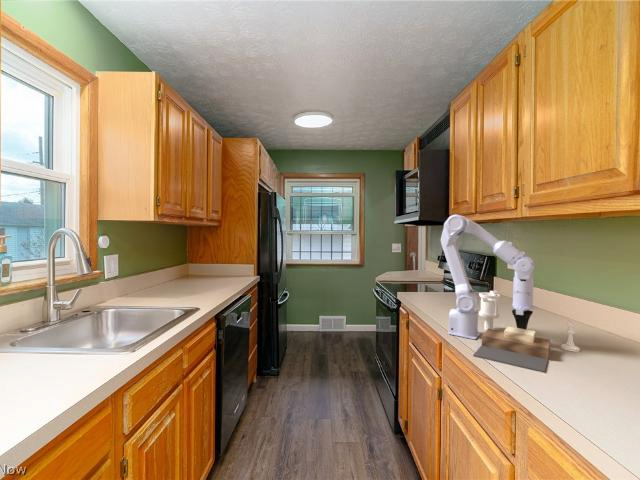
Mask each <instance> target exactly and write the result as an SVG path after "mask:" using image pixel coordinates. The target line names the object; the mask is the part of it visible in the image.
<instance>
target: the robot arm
mask: <svg viewBox="0 0 640 480" xmlns="http://www.w3.org/2000/svg"><path fill="white" fill-rule="evenodd" d="M463 233H466V234H472V235H474V236H476V237H477V238H478V239H480V240H481V241H483V242H484V243H486V244H487V245H488V246H490V247H491V248H492V251H493V254H494V255H495V256H497V257H498V258H499V259H501V260H502V261H503V262H505V263H506V264H507V265H509V266H512V268H513V270H514V277H513V278H512V279H513V286H512V303H511V307H513V308H514V309H512V310H511V313H512V316H513V317H514V319H515V324H516V328H520V329H526V330H528V329H527V328H528V324H529V320H530V318H531V316H532V315H533V313H534V311H532V310H537V309H538V306H537V305H534V303H533V301H534V272H533V271H535V268H536V267H535V263H534V261H533V259H532V258H531V257H530V256H529V255H526V252H525V251H521V250H520V249H518V248H516V247H515V246H514V245H513V244H514V243H513V242H512V241H509V242H508V241H507V240H500V239H498V238H496V237H495V236H494V235H492V234H491V233H490V232H488V231H487V230H486V229H485V228H484V227H482V226H481V225H480V224H478V223H477V222H475V221H473V220H471V219H469V218H467V217H466V216H464V215H461V214H460V215H459V214H452V215H450V216H449V217H448V218H447V219H446V221H444V223H443V229H442V233H441V238H440V244H441V247H442V250H443V253H444V256H445V259H446V263H447V265H448V268H449V271H450V274H451V278H452V281H453V283H454V290H455V291H454V292H455V296H456V300H455V305H456V308H451V309H450V310H449V315H448V331H447V334H448V335H450V336H451V335H452V336H456V337H462V338H466V339H471V340H477V339H478V337H480V335H481V332H478V329H479V328H478V327H479V326H478V325H479V324H478V323H479V321H478V320H479V310H478V309H477V307H476V306H477V305H478V304H479V296H478V294H477V293H476V292H475V291H474V289H473V286H472V285H471V283H470V281H469V278H468V275H467V272H466V270H465V267H464V264H463V261H462V258H461V255H460V251H459V249H458V246H457V240H458V239H459V238H460V236H461V235H462V234H463Z"/></svg>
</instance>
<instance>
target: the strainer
mask: <svg viewBox="0 0 640 480" xmlns="http://www.w3.org/2000/svg"><path fill="white" fill-rule="evenodd" d="M478 294H479V296H478V297H480V310H478V316H480V317H483V318H484V326H483V327H484V328H483V329H484V331H485V332H486V331H487V330H488V329H493V330H494V319H499V318H500V313H499V299H501V294H499V293H498V290H489V292H479V293H478Z"/></svg>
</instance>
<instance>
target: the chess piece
mask: <svg viewBox="0 0 640 480" xmlns="http://www.w3.org/2000/svg"><path fill="white" fill-rule="evenodd" d="M567 322H568V323H567V324H566V326H567V327H568V328H567V329H568V330H566V333H568V335H567V336H568V337H567V341H566V342H565V343H562V344H561V345H560V348H561V349H562V350H564V351H568V352H572V351H573V352H574V353H577V352H580V347H579V346H577V345H575V343H574V337H573V334H575V333H576V332H575V331H574V329H575V324H574V323H576V322H575V320H573V318H569V319H567Z"/></svg>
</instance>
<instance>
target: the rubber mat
mask: <svg viewBox="0 0 640 480" xmlns="http://www.w3.org/2000/svg"><path fill="white" fill-rule="evenodd" d="M472 356H473V357H475V358H479V359H485V360H489V361H492V362H497V363H502V364H506V365H510V366H514V367H519V368H523V369H527V370H531V371H536V372H539V371H540V372H541V373H544V374H545V373H546V370H547V365H548V361H549V358H548V359H544V358H539V357H534V356H529V355H525V354H520V353H515V352H510V351H506V350H501V349H496V348H492V347H487V346H482V344H481V345H480V346H479V347H478V349H477V350H476V351H475V352H474V353H473V355H472Z"/></svg>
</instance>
